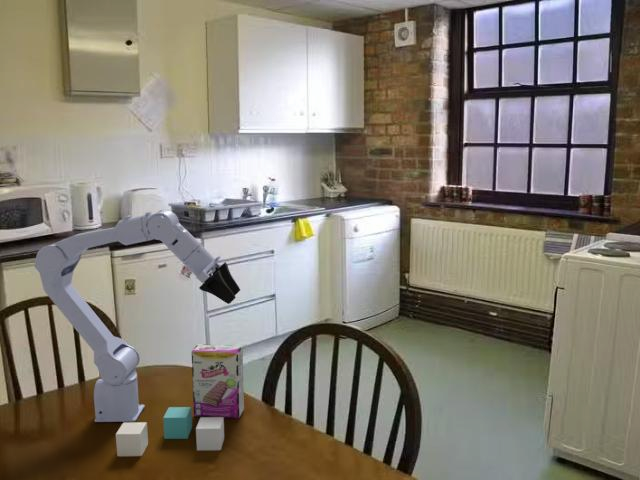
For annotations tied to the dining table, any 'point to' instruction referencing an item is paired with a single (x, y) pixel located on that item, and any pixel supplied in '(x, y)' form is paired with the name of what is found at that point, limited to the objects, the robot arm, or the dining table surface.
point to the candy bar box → (218, 381)
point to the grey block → (210, 433)
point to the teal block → (177, 423)
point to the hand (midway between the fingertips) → (234, 296)
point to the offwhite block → (132, 439)
